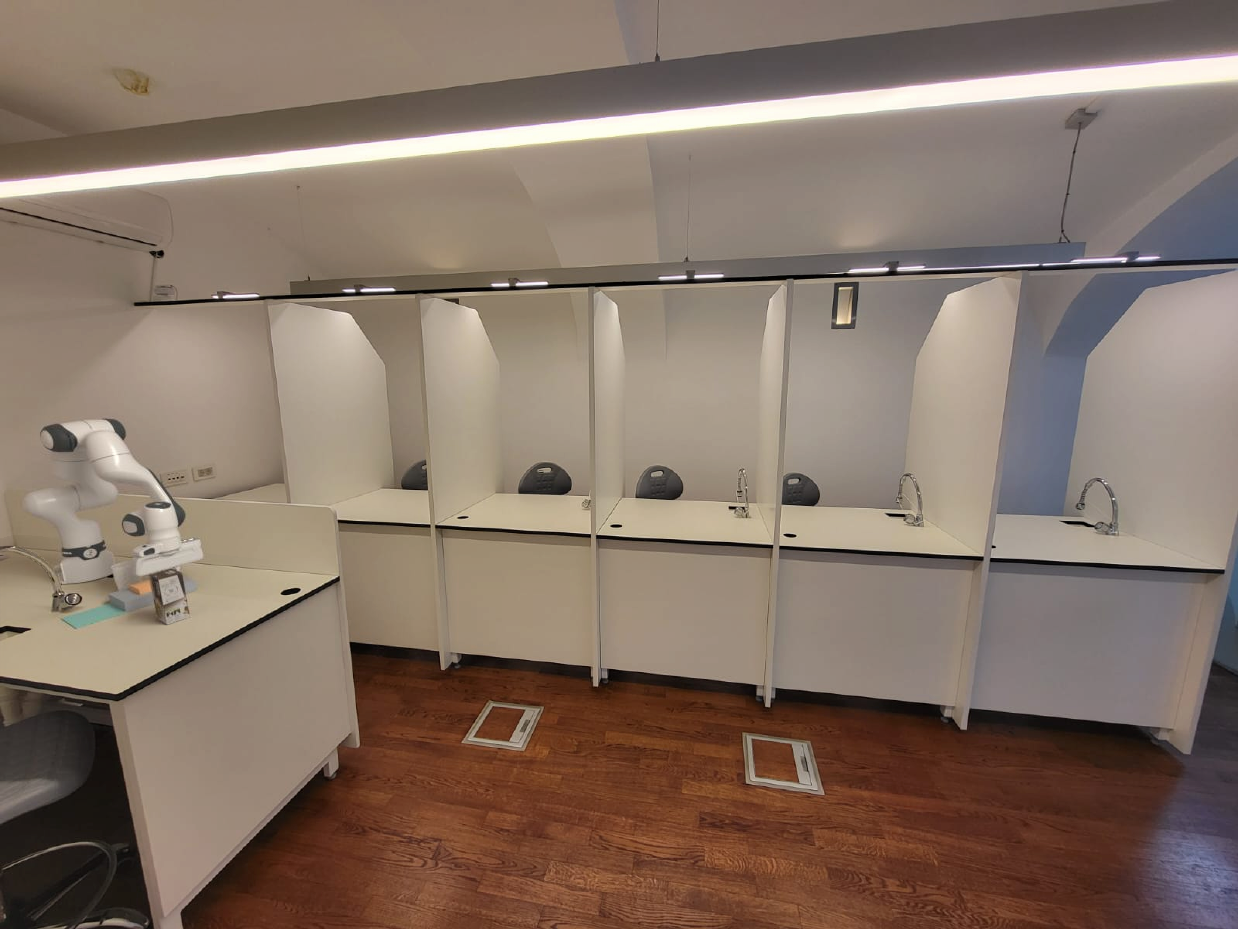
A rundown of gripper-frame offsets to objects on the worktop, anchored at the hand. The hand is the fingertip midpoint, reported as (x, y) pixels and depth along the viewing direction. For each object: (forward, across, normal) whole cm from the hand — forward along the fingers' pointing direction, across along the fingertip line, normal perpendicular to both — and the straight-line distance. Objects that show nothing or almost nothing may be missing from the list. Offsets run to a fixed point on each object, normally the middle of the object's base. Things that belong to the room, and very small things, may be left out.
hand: (172, 578), depth 182 cm
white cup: (+5, +7, -18) cm, 20 cm away
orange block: (+1, +8, 0) cm, 8 cm away
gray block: (+5, +6, 0) cm, 8 cm away
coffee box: (+5, +10, +26) cm, 29 cm away
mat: (+5, +22, 0) cm, 22 cm away
